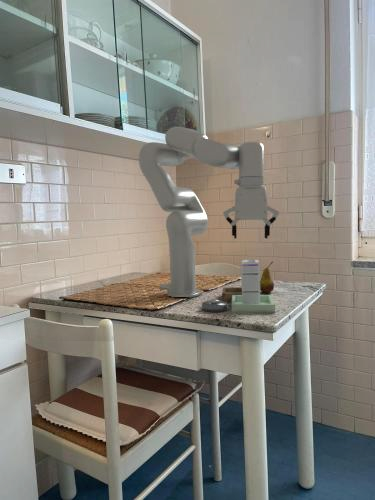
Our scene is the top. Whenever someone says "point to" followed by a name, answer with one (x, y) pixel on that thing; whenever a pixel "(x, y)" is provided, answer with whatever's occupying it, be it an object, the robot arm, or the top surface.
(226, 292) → the collar
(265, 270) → the fruit
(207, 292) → the top surface
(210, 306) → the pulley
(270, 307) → the tray
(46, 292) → the top surface
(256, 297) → the syrup box
